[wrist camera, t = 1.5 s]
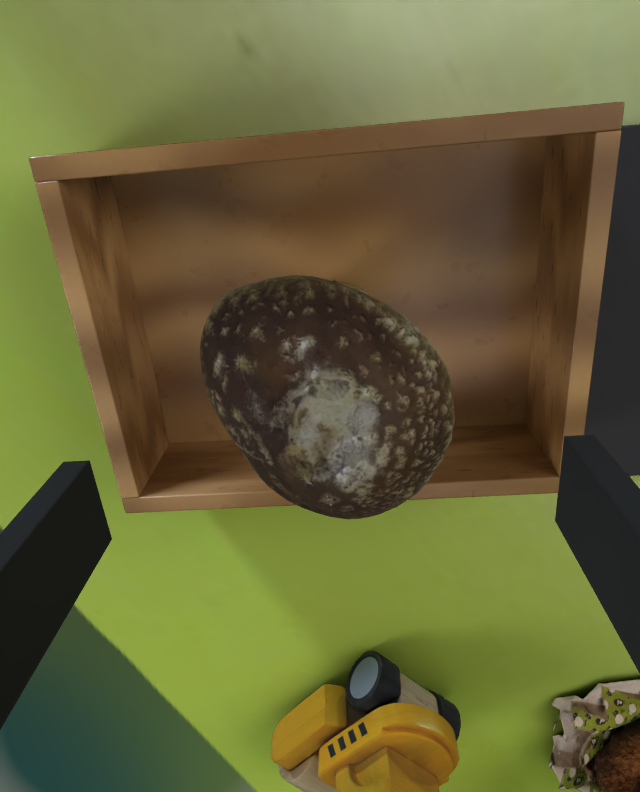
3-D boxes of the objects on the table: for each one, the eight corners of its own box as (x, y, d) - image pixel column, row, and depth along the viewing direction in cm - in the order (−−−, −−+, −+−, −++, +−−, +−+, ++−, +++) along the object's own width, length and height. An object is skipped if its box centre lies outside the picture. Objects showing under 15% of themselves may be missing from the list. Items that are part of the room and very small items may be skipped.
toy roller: (265, 720, 47) (245, 869, 37) (387, 628, 42) (400, 772, 33) (344, 768, 49) (344, 920, 40) (468, 686, 44) (502, 836, 35)
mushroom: (427, 364, 33) (486, 525, 19) (285, 399, 34) (248, 573, 21) (390, 200, 29) (432, 256, 16) (233, 246, 31) (146, 334, 17)
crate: (89, 153, 29) (27, 157, 23) (567, 108, 28) (625, 101, 22) (159, 454, 37) (125, 513, 31) (539, 434, 35) (577, 492, 29)
